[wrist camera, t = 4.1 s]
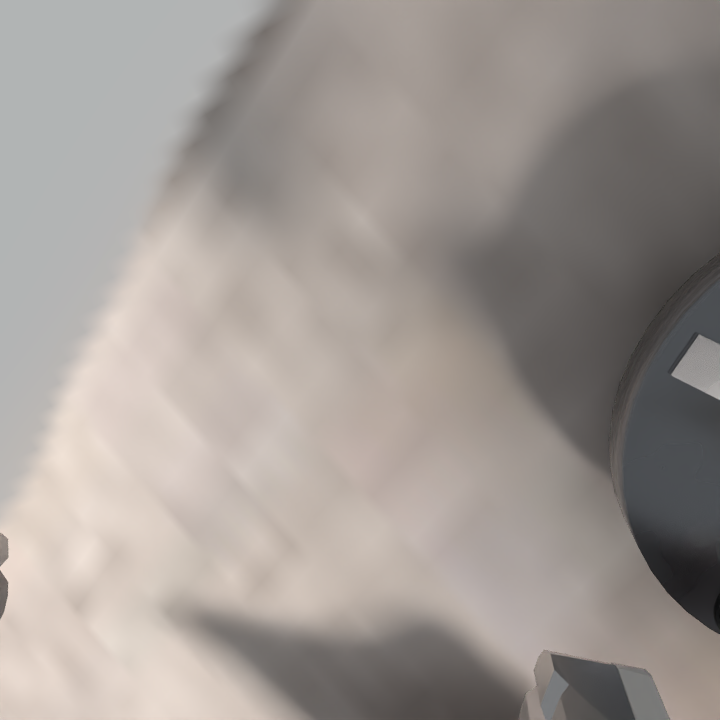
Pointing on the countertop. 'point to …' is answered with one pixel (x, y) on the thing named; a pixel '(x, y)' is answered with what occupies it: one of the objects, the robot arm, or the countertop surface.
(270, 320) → the countertop surface
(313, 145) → the countertop surface
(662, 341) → the handwheel
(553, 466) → the countertop surface
